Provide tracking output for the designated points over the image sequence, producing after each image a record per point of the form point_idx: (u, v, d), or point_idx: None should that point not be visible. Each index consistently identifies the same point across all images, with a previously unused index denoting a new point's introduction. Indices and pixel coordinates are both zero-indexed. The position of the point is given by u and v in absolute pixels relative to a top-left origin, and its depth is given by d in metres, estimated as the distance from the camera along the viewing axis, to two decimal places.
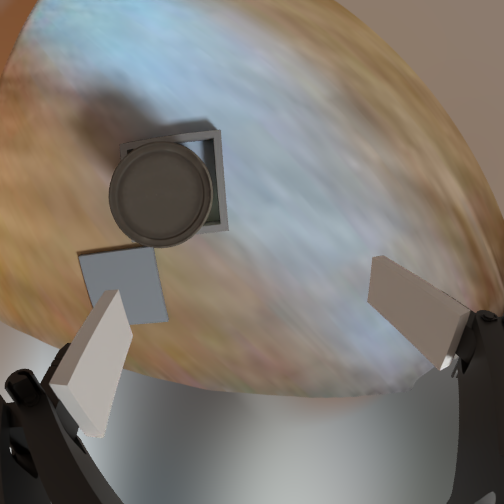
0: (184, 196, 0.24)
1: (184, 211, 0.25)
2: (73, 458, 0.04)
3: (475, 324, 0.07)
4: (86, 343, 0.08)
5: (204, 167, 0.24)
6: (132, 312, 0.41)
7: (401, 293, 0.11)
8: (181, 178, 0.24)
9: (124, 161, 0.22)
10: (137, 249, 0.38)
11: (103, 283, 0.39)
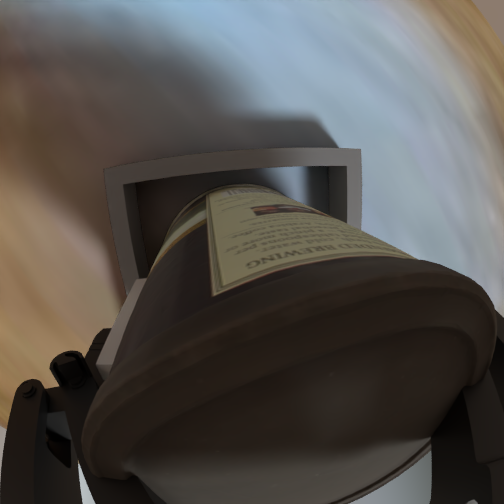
0: (405, 445, 0.05)
1: (383, 469, 0.05)
2: None
3: None
4: None
5: (491, 357, 0.04)
6: None
7: None
8: (424, 411, 0.04)
9: (129, 409, 0.03)
10: None
11: None
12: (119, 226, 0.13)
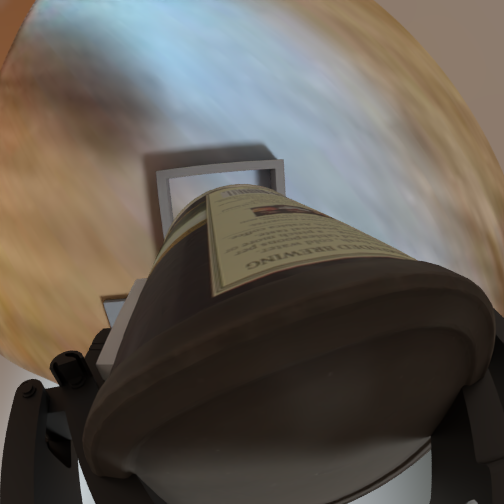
0: (404, 444, 0.05)
1: (382, 468, 0.05)
2: None
3: None
4: None
5: (490, 357, 0.04)
6: None
7: None
8: (423, 411, 0.04)
9: (130, 408, 0.03)
10: None
11: None
12: (162, 199, 0.28)
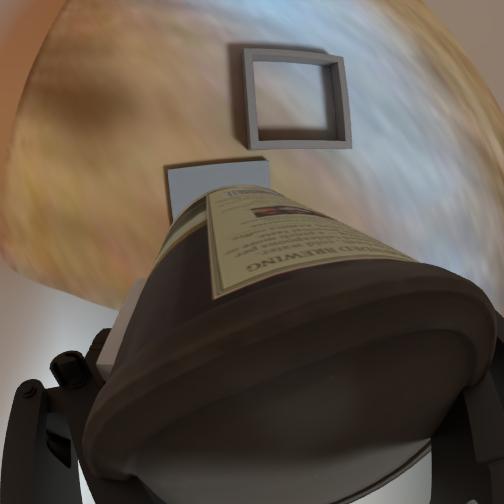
0: (405, 446, 0.05)
1: (383, 470, 0.05)
2: None
3: None
4: None
5: (491, 358, 0.04)
6: None
7: None
8: (424, 413, 0.04)
9: (130, 412, 0.03)
10: (250, 162, 0.34)
11: None
12: (249, 68, 0.28)
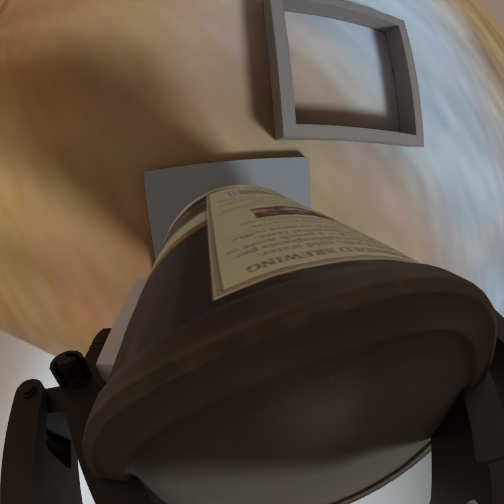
0: (404, 446, 0.05)
1: (383, 470, 0.05)
2: None
3: None
4: None
5: (491, 359, 0.04)
6: None
7: None
8: (424, 413, 0.04)
9: (130, 413, 0.03)
10: (279, 160, 0.20)
11: None
12: (278, 14, 0.15)
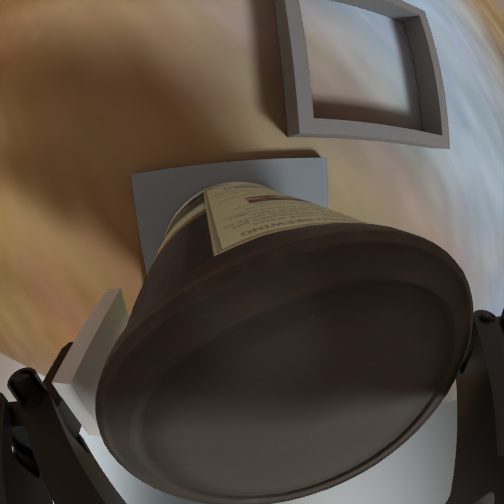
0: (395, 412, 0.06)
1: (377, 440, 0.06)
2: (76, 457, 0.04)
3: (473, 324, 0.07)
4: (89, 342, 0.08)
5: (471, 325, 0.05)
6: None
7: None
8: (408, 374, 0.05)
9: (144, 349, 0.04)
10: (293, 160, 0.17)
11: None
12: None
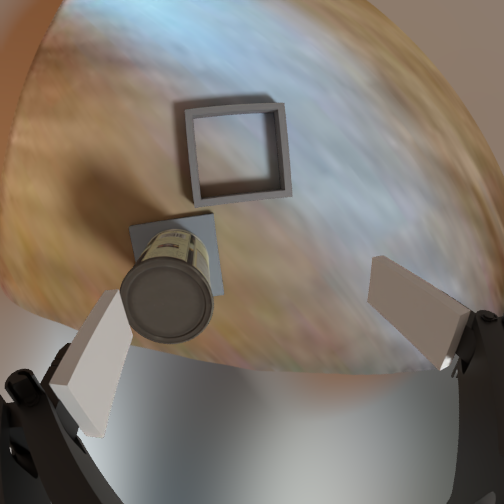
0: (188, 304, 0.28)
1: (189, 316, 0.28)
2: (73, 458, 0.04)
3: (475, 324, 0.07)
4: (86, 343, 0.08)
5: (203, 280, 0.27)
6: None
7: (401, 293, 0.11)
8: (184, 290, 0.27)
9: (129, 276, 0.25)
10: (196, 217, 0.39)
11: None
12: (189, 130, 0.33)
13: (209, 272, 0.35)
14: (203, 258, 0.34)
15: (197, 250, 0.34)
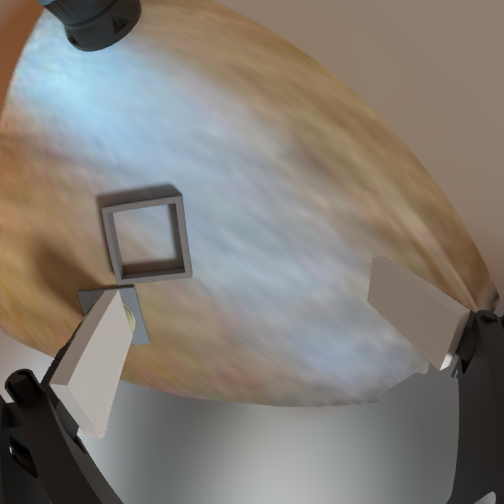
0: None
1: None
2: (73, 458, 0.04)
3: (475, 324, 0.07)
4: (86, 343, 0.08)
5: None
6: None
7: (401, 293, 0.11)
8: None
9: None
10: (122, 289, 0.46)
11: None
12: (106, 226, 0.41)
13: None
14: None
15: None
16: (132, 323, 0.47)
